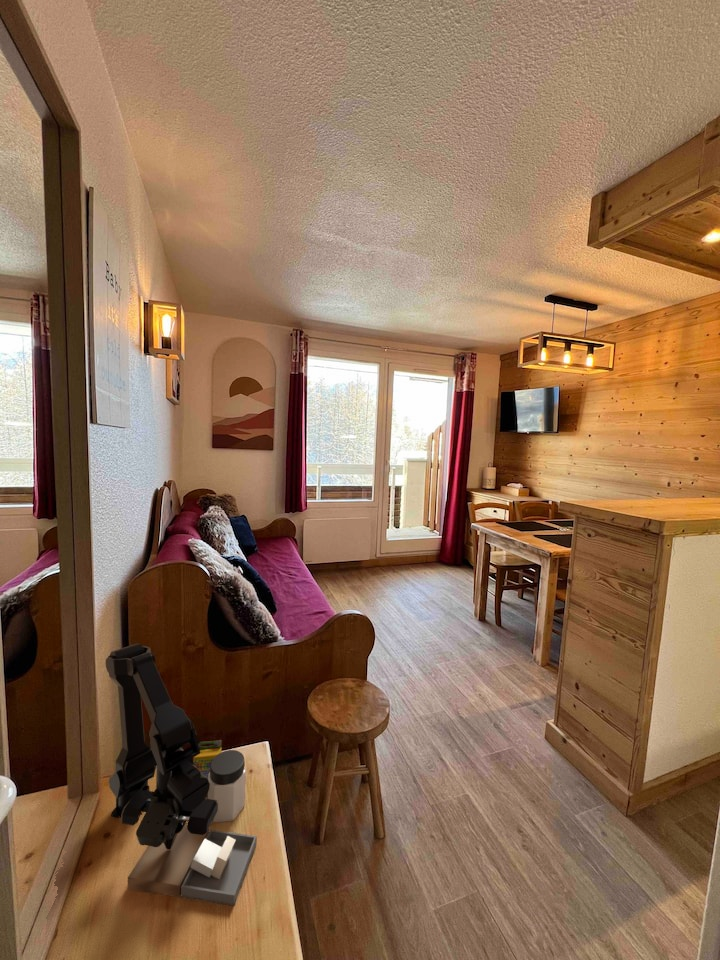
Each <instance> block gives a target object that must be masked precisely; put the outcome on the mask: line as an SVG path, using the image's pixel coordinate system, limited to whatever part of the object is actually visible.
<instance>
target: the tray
mask: <svg viewBox="0 0 720 960" xmlns="http://www.w3.org/2000/svg"><path fill="white" fill-rule="evenodd" d="M227 836H229V837H231V838H233V839H235V840H236V841H235V844H234V847H233V849H232V852H231V855H230V858H229V860H228V862H227V864H226V866H225V868H224V871H223V873H222V875H221V877H220V879H218V878H216V877H214V876H212V875H211V876H210V878H209V877H207V876H206V875H204V874H202V873H200V872H198V871H196V870H194V869H192V868H191V869H190V870H189V872H188V874H187V876H186V878H185V880H184V882H183V884H182V886H181V895H180V898H183V899H190V900H195V901H202V902H207V903H215V904H219V905H226V906H227V905H228V906H233V907H234V906H235V905H236V902H237V899H238V897H239V894H240V891H241V889H242V886H243V883H244V880H245V877H246V875H247V872H248V869H249V867H250V864H251V861H252V858H253V855H254V853H255V851H256V848H257V840H258V836H257V835H253V834H252V835H251V834H244V833H236V832H232V831H222V830H216V829H209V833H208V835H207V837H206V839H207V840H209V841H211V842H213V843H214V844H216V845H218V846H220V847H222V846H223V844H224V842H225V840H226V838H227Z"/></svg>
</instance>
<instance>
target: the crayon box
mask: <svg viewBox="0 0 720 960" xmlns="http://www.w3.org/2000/svg"><path fill="white" fill-rule="evenodd" d="M222 742H223V741H222V739H219V740H209V741H207V740H206V741H200V743H199V744H198V745H199V749H200V754H198V755H197V756H195V757H193V763H194V765H195V766H196V767H197V768H198V770H199V771H200V772H201V773H202V774H203V775H204V776H205V777H206V778H207V779H208V774H209V773H210V764H211V761H212V760H213V758H214V757H215V756H217V755H218V754H219V753H221V752H223V751H222V749H223V748H222ZM207 744H209V746H202V745H207ZM210 744H213V745H210Z"/></svg>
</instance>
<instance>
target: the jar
mask: <svg viewBox="0 0 720 960" xmlns="http://www.w3.org/2000/svg"><path fill="white" fill-rule="evenodd" d="M245 767H246V765H245V757H244V754H243V753H242V752H241V751H238V750H234V749H229V750H223V751H222V752H221V753H219V754H218V755H217V756H215V757H214V758H213V760H212V761H211V764H210V773H209V774H208V781H209V783H210V787H209V791H208V794H207V799H212V800H217V802H218V811H217V813H216V815H215V817H214V819H213V821H212V823H222V822H223V823H224V822H232V821H235V819H236V818H237V816H238V815H239V814H240V813H241V811H242V810H243V808H244V807H245V805H246V780H247V779H246V778H247V774H246V773H247V770H246V768H245Z"/></svg>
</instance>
